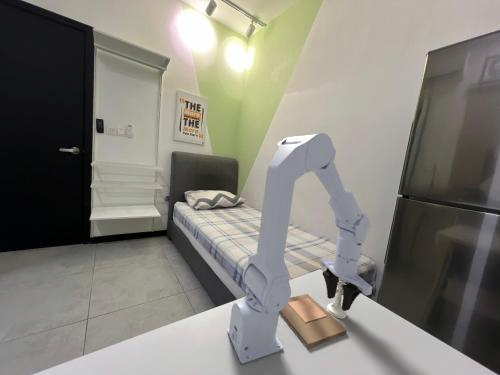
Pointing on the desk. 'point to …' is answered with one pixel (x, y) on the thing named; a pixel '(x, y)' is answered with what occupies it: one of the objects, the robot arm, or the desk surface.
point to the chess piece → (337, 302)
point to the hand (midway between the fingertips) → (337, 303)
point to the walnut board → (310, 321)
